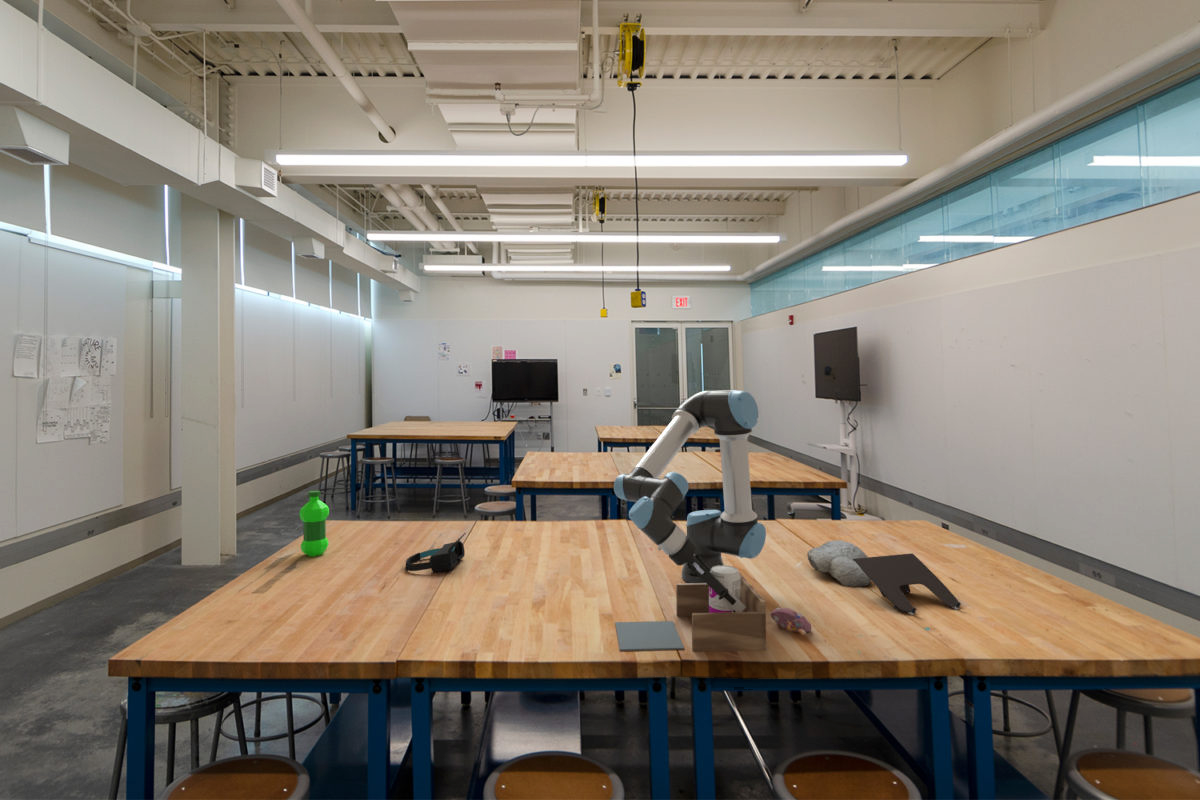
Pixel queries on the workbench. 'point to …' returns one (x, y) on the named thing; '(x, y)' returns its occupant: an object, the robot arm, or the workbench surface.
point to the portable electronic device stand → (903, 579)
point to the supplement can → (730, 581)
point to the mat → (648, 636)
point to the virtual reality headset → (438, 558)
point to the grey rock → (839, 562)
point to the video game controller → (790, 619)
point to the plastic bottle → (314, 525)
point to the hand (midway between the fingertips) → (737, 603)
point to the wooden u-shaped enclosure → (723, 619)
